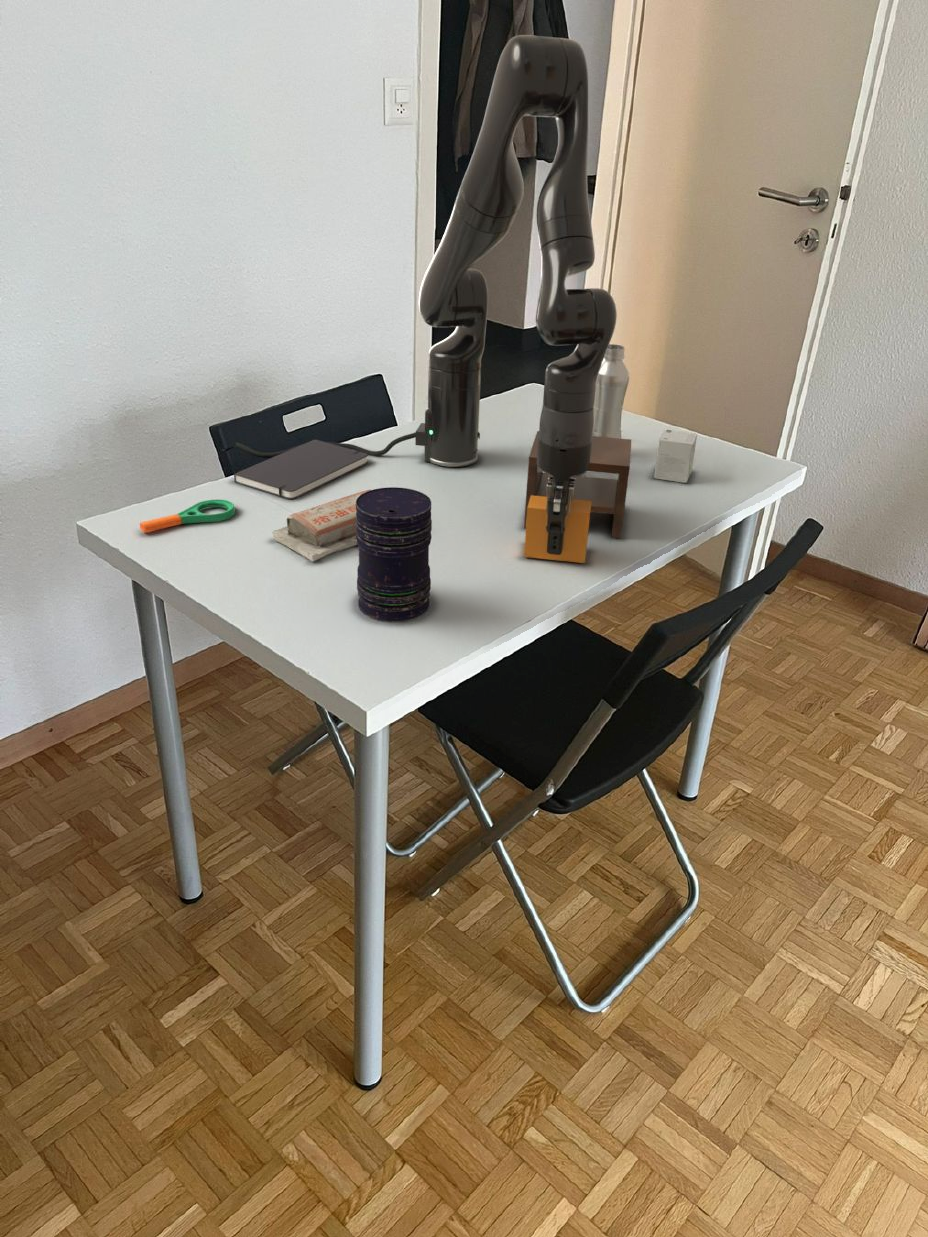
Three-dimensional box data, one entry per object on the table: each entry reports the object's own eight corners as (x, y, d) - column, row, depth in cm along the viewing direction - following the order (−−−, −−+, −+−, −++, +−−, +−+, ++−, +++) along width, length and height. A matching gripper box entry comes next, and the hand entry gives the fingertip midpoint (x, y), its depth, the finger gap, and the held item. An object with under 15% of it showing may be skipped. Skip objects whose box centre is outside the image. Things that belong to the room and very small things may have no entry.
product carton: (687, 483, 172) (693, 444, 169) (653, 478, 174) (658, 439, 170) (691, 472, 177) (698, 433, 174) (658, 467, 179) (663, 428, 175)
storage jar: (362, 584, 136) (360, 485, 129) (432, 588, 136) (434, 488, 129) (352, 621, 128) (350, 516, 120) (427, 624, 128) (429, 520, 120)
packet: (523, 556, 145) (527, 507, 141) (527, 543, 149) (530, 495, 145) (584, 563, 144) (589, 513, 140) (586, 549, 148) (591, 500, 144)
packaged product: (363, 481, 156) (405, 500, 150) (364, 509, 158) (405, 529, 152) (269, 511, 145) (310, 533, 139) (271, 540, 147) (312, 563, 141)
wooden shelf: (523, 528, 154) (528, 456, 148) (532, 499, 164) (537, 430, 158) (620, 538, 152) (629, 466, 146) (622, 508, 162) (631, 439, 156)
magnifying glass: (223, 502, 159) (222, 493, 158) (242, 515, 155) (241, 505, 154) (134, 527, 150) (132, 516, 149) (152, 540, 146) (150, 530, 145)
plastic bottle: (594, 444, 188) (606, 340, 178) (626, 452, 185) (639, 346, 175) (578, 453, 184) (588, 346, 173) (609, 462, 180) (622, 354, 170)
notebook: (315, 447, 182) (234, 482, 166) (314, 439, 181) (233, 473, 165) (369, 462, 176) (291, 500, 160) (369, 454, 175) (291, 491, 160)
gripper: (543, 417, 144) (535, 523, 152) (533, 451, 131) (525, 564, 140) (595, 422, 143) (583, 528, 151) (589, 456, 130) (577, 570, 139)
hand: (555, 545), depth 146 cm, fingers closed on packet, 4 cm apart
